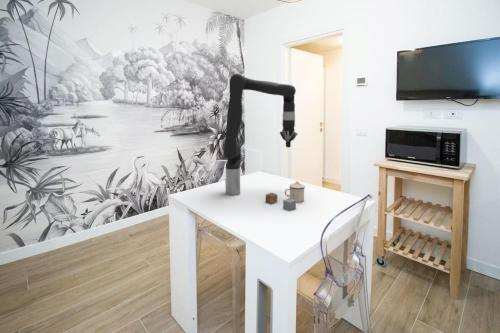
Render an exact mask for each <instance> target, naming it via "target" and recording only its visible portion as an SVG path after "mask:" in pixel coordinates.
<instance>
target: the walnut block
mask: <svg viewBox="0 0 500 333" xmlns="http://www.w3.org/2000/svg"><path fill="white" fill-rule="evenodd" d="M265 203H267V204H270V205H273V204H276V203H278V194H277V193H274V192H268V193H266V194H265Z"/></svg>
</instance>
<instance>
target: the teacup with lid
mask: <svg viewBox="0 0 500 333" xmlns="http://www.w3.org/2000/svg"><path fill="white" fill-rule="evenodd" d="M287 191H289V194H287ZM284 194H285V196H286V197H289V198H290V199H293V200H296V203H302V202H304V201H305V185H304V184H302V183H300V181H298V180H297V181H295V182H294V183H291V184H290V185H289V188H286V189H285V190H284Z"/></svg>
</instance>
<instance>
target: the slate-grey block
mask: <svg viewBox="0 0 500 333" xmlns="http://www.w3.org/2000/svg"><path fill="white" fill-rule="evenodd" d="M282 202H283V204H282V208H283V210H286V211H288V212H291V211H293V210H296V209H297V207H296V206H297V202H296V200H293V199H290V197H289V198H286V199H283V200H282Z"/></svg>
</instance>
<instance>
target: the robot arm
mask: <svg viewBox="0 0 500 333" xmlns="http://www.w3.org/2000/svg"><path fill="white" fill-rule="evenodd" d="M228 83H229V98H228V99H229V101H228V106H227V114H226V126H225V127H226V128H225V139H224V140H225V141H224V144H223V155H224V157H225V158H226V159H227V161H226V163H225V180H224V181H225V193H226V194H227V196H238V195H240V194H241V162H242V150H241V147H240V145H239V144H238V142H237V139H238V136H239V135H238V134H239V132H240V129H241V126H242V120H243V104H242V103H243V91H244V90H245V91H247V90H248V91H253V92H259V93H263V94H267V95H272V96H282V97H283V105H282V130H281V131H280V132H279V135H280V136H281V138H282V140H283V141H284V142H285V147H286V148H290V147H291V145H292V144H291V142H292V141H294V140H295V139H296V137H297V136H298V132H296V131H295V126H296V113H295V108H296V104H295V96H296V92H297V91H296V88H295V86H293V85H292V84H288V83H287V84H286V83H285V84H284V83H278V82H273V81H267V80H259V79H257V80H256V79H252V78H248V77H245V76H243V75H242V74H240V73H234V74H233V75H231V76H230V78H229V82H228Z"/></svg>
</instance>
